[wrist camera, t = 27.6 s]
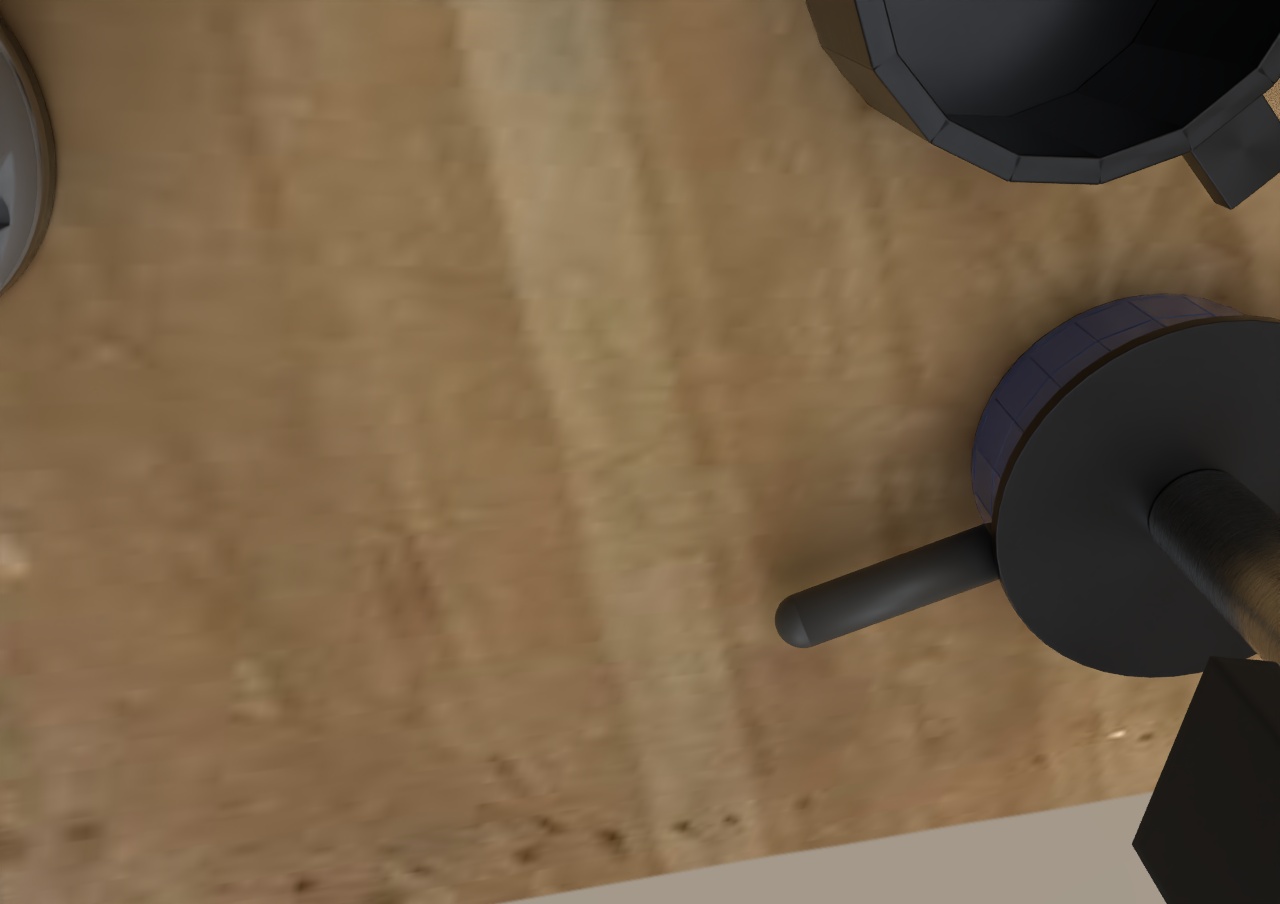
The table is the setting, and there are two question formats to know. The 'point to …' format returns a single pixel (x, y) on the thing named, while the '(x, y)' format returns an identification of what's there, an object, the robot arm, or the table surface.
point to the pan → (1065, 373)
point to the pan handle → (888, 588)
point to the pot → (1072, 83)
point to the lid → (1152, 504)
